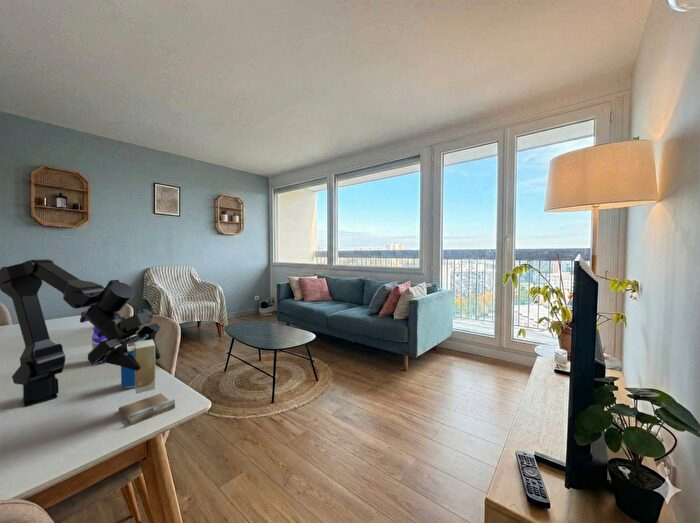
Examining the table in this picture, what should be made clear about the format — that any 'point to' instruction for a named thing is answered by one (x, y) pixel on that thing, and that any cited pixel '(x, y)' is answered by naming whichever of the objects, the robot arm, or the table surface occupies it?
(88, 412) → the table surface
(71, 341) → the table surface
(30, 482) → the table surface
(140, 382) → the skincare box
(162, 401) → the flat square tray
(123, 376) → the beverage can
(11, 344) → the table surface
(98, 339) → the bottle
